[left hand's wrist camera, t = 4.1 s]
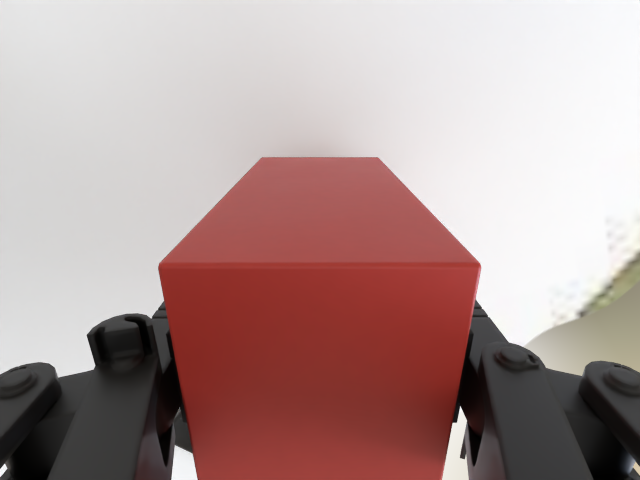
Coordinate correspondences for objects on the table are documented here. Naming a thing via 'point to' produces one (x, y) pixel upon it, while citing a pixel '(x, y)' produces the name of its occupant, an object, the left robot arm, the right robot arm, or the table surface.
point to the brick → (319, 326)
